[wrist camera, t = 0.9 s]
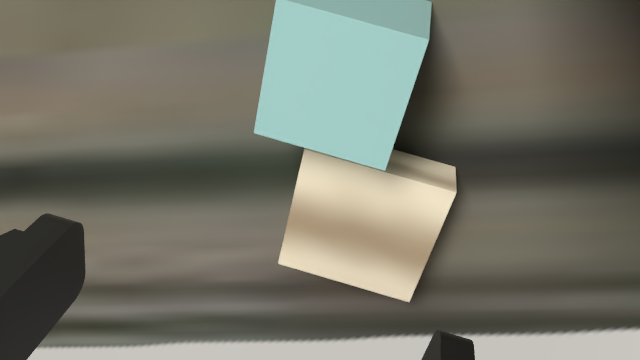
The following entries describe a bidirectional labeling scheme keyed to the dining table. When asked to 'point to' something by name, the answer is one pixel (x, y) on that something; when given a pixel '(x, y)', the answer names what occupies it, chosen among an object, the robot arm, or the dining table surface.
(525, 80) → the dining table surface
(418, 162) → the maple pedestal
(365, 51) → the teal cube
